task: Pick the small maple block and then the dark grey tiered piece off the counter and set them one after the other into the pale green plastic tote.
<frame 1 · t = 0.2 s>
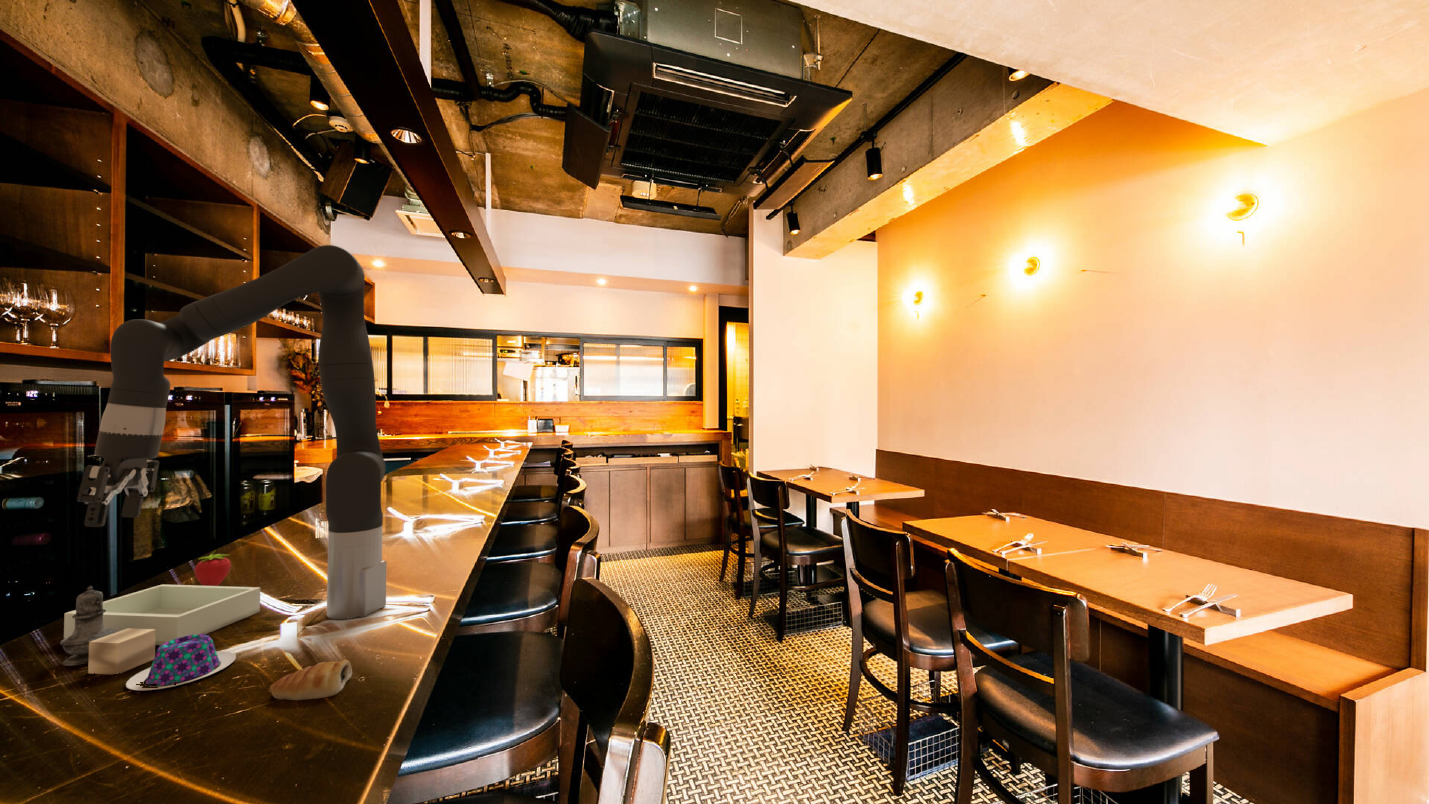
hand: (113, 521, 89), 22 cm above the bar counter, tool pointing down, fingers open, 8 cm apart
tote: (168, 625, 97), on the bar counter
pastry: (315, 692, 75), on the bar counter
patterned hat: (183, 675, 80), on the bar counter
strawberry: (212, 592, 115), on the bar counter
dark grey tiered piece: (88, 658, 84), on the bar counter
maple block: (122, 666, 81), on the bar counter
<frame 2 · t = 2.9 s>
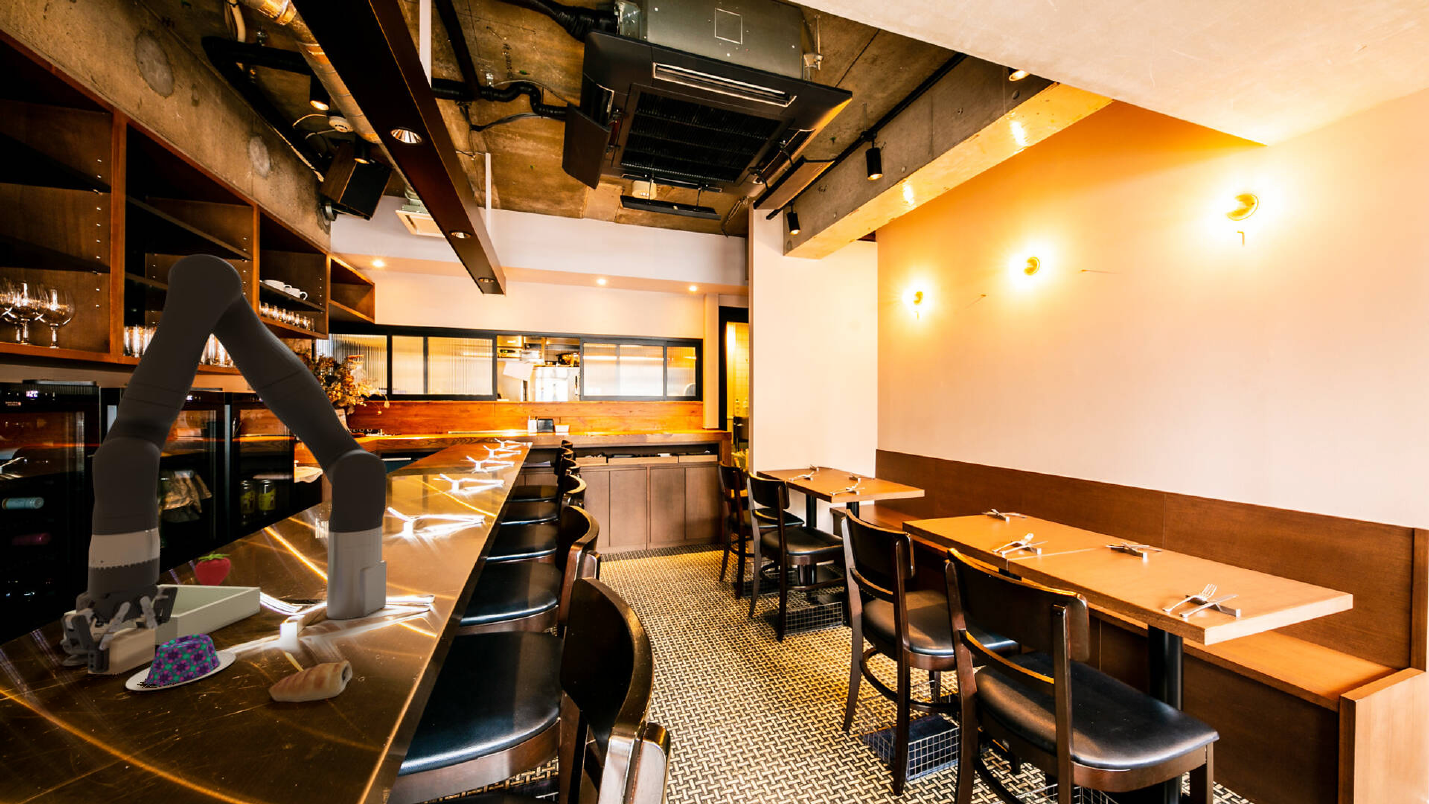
hand: (122, 662, 81), 0 cm above the bar counter, tool pointing down, fingers closed on maple block, 5 cm apart
maple block: (122, 666, 81), on the bar counter, touching gripper
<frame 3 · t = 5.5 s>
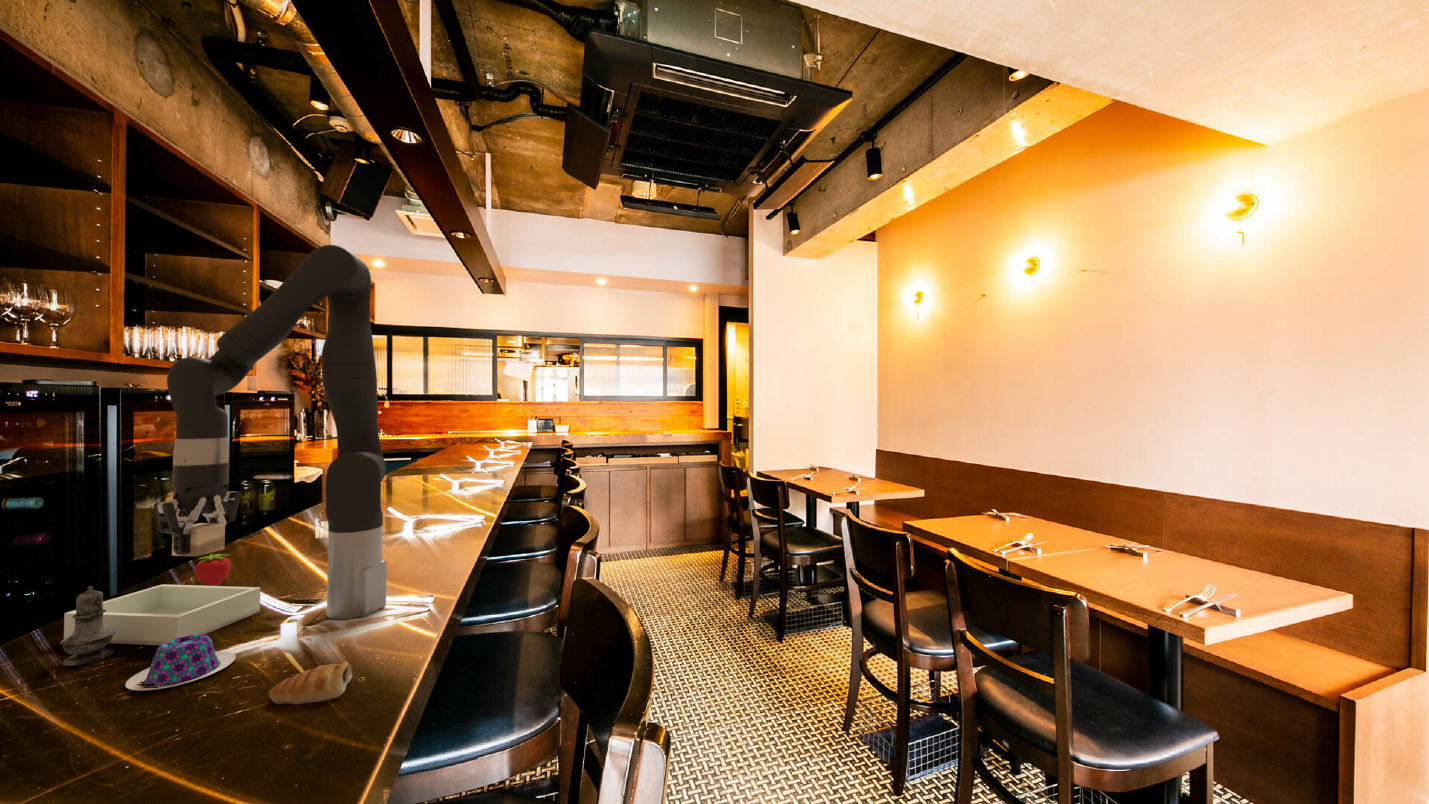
hand: (199, 549, 96), 15 cm above the bar counter, tool pointing down, fingers closed on maple block, 5 cm apart
maple block: (198, 552, 96), point 14 cm above the bar counter, touching gripper
when the fingers open (3 cm above the bar counter, at t = 8.0 s): maple block drops 2 cm, resting on tote.
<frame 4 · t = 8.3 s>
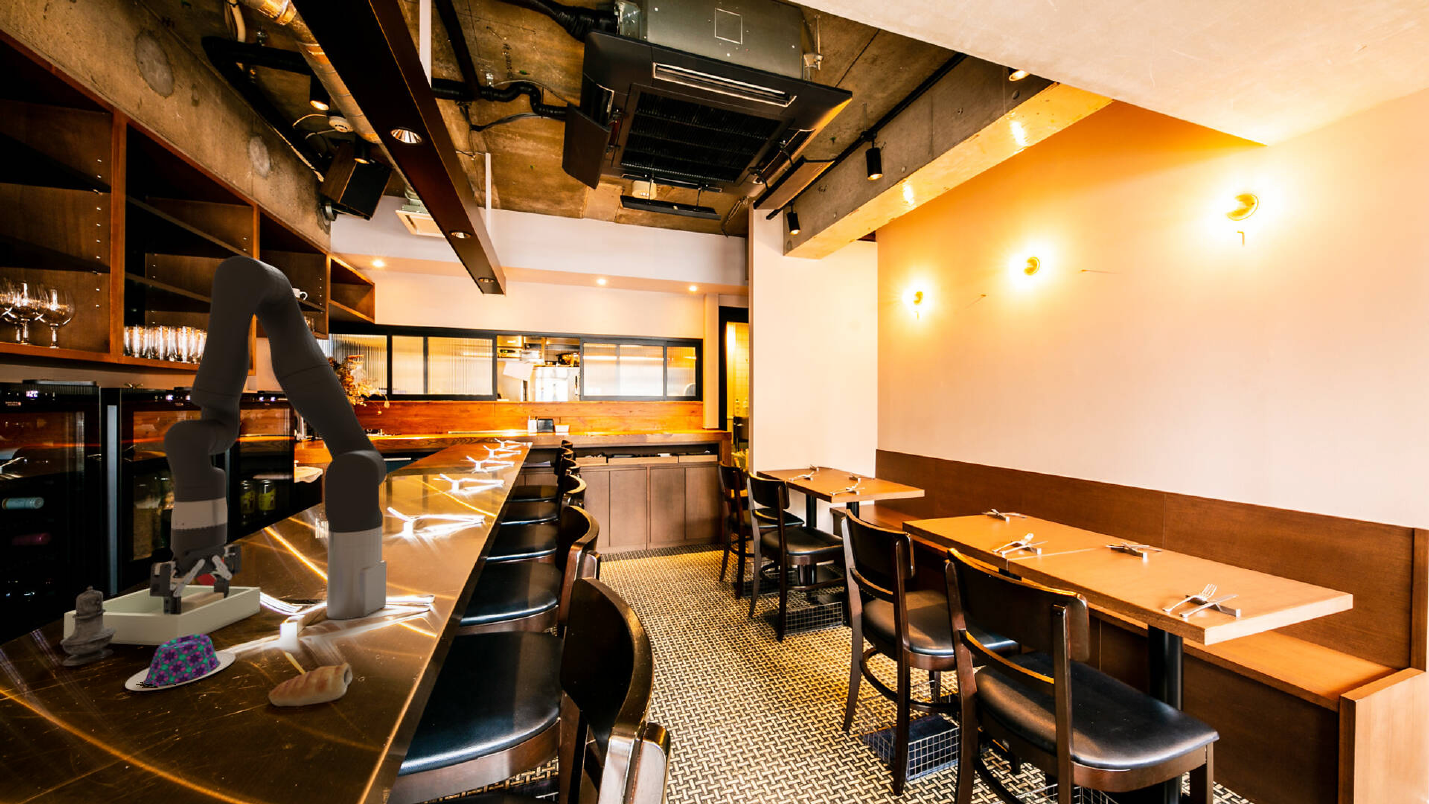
hand: (197, 607, 96), 4 cm above the bar counter, tool pointing down, fingers open, 8 cm apart
maple block: (197, 623, 96), point 1 cm above the bar counter, touching tote
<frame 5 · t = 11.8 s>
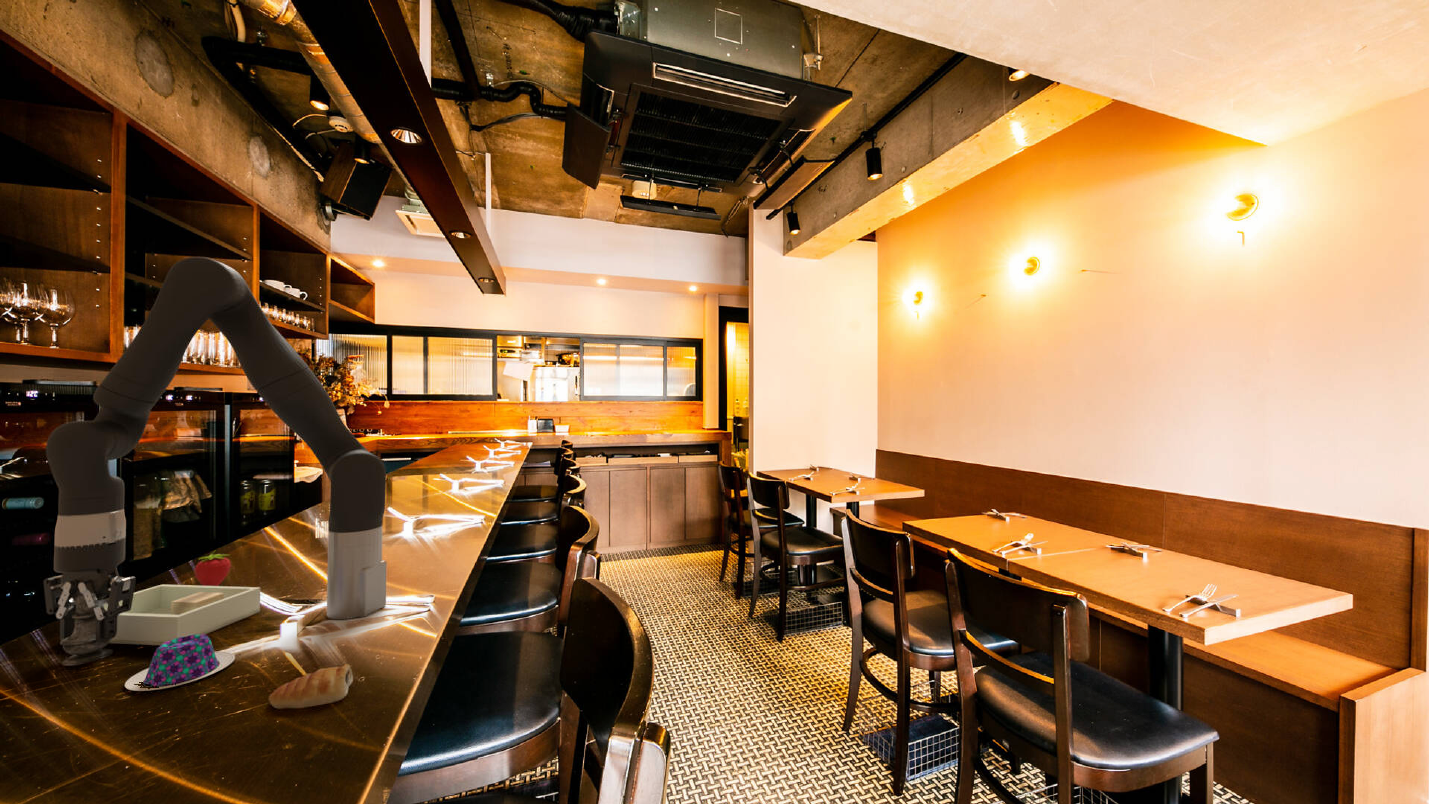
hand: (88, 639, 84), 3 cm above the bar counter, tool pointing down, fingers closed on dark grey tiered piece, 6 cm apart
dark grey tiered piece: (87, 658, 84), on the bar counter, touching gripper
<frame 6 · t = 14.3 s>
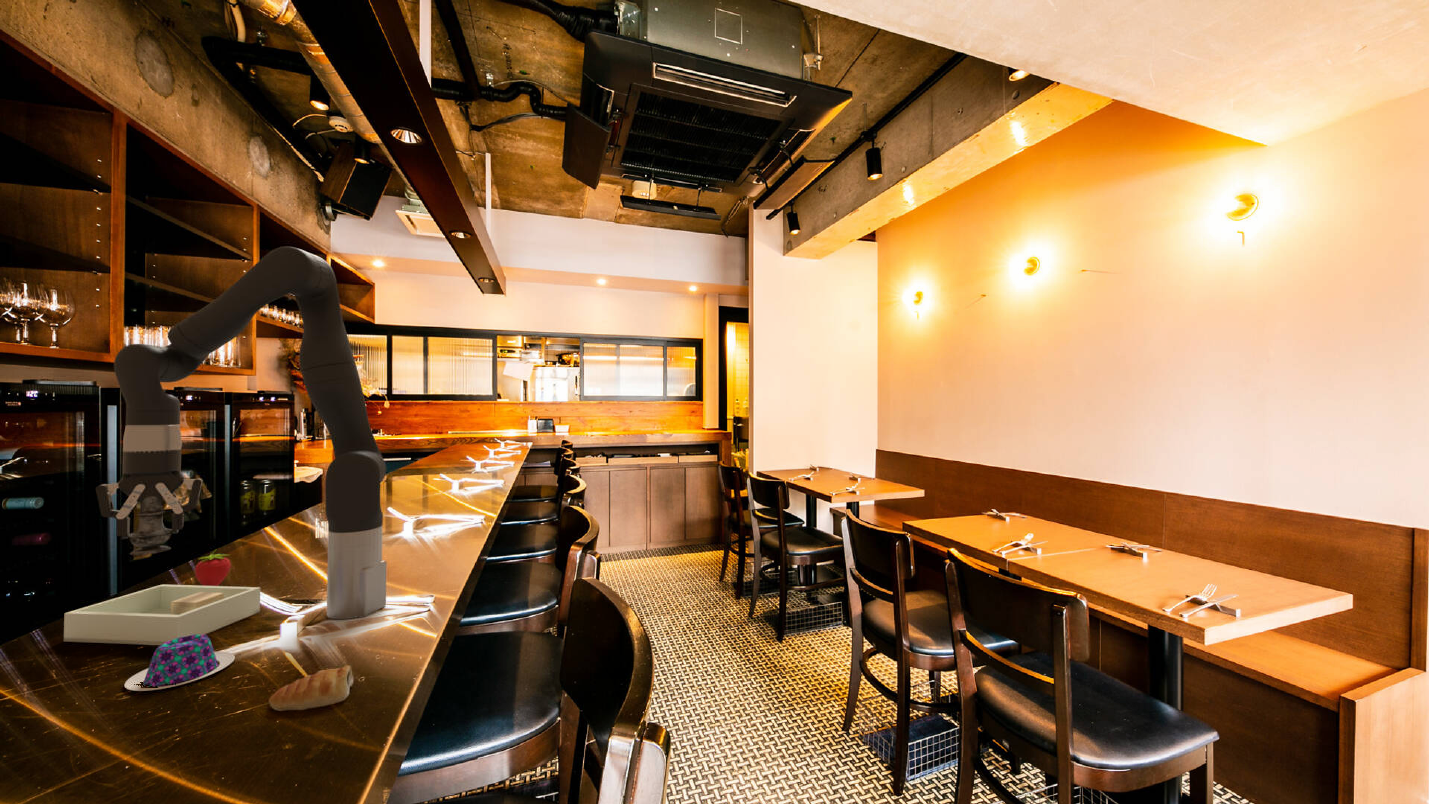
hand: (151, 534, 97), 17 cm above the bar counter, tool pointing down, fingers closed on dark grey tiered piece, 6 cm apart
dark grey tiered piece: (150, 552, 97), point 14 cm above the bar counter, touching gripper
when the fingers open (5 cm above the bar counter, at t = 17.1 s): dark grey tiered piece drops 1 cm, resting on tote.
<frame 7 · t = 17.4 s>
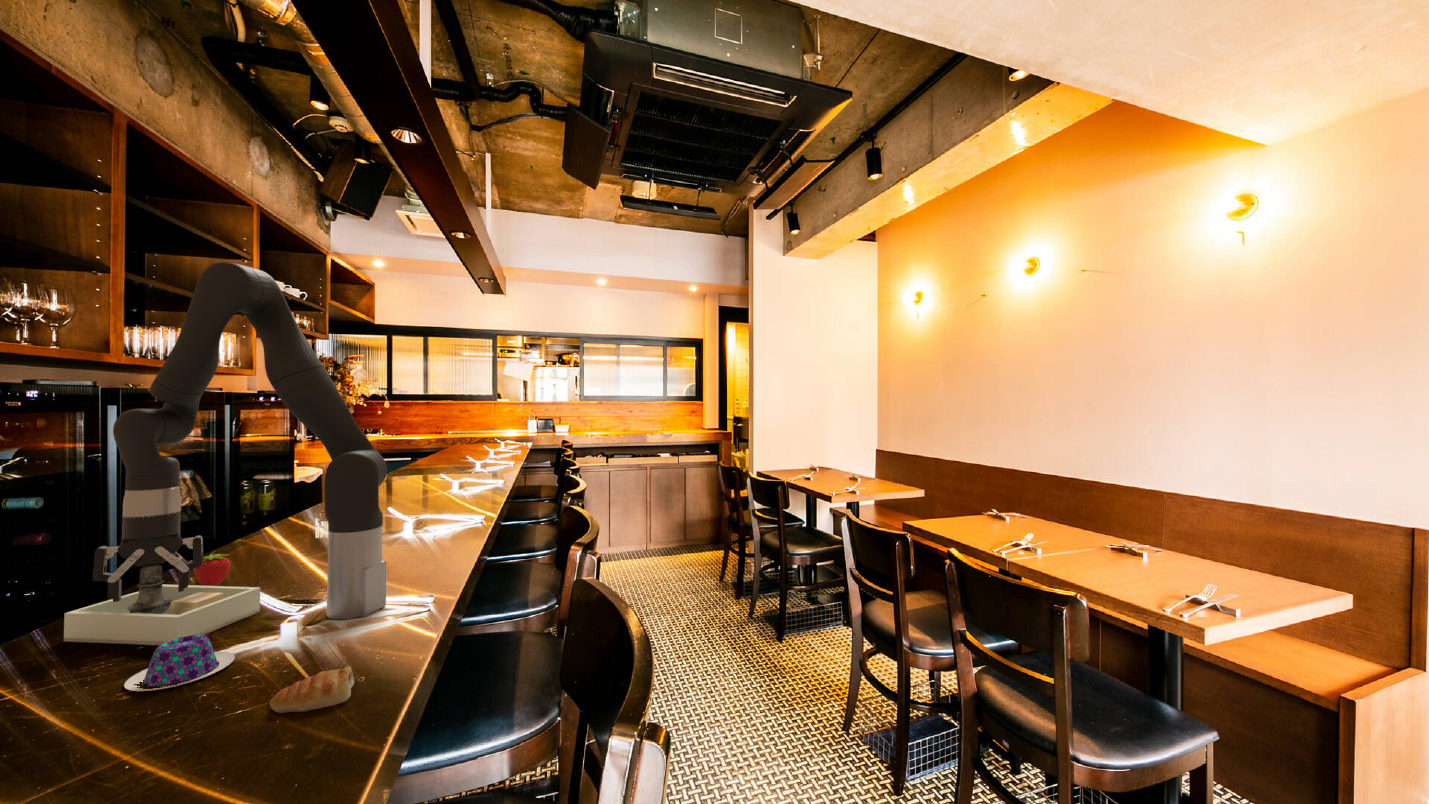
hand: (150, 595, 97), 6 cm above the bar counter, tool pointing down, fingers open, 8 cm apart
dark grey tiered piece: (150, 622, 97), resting on tote
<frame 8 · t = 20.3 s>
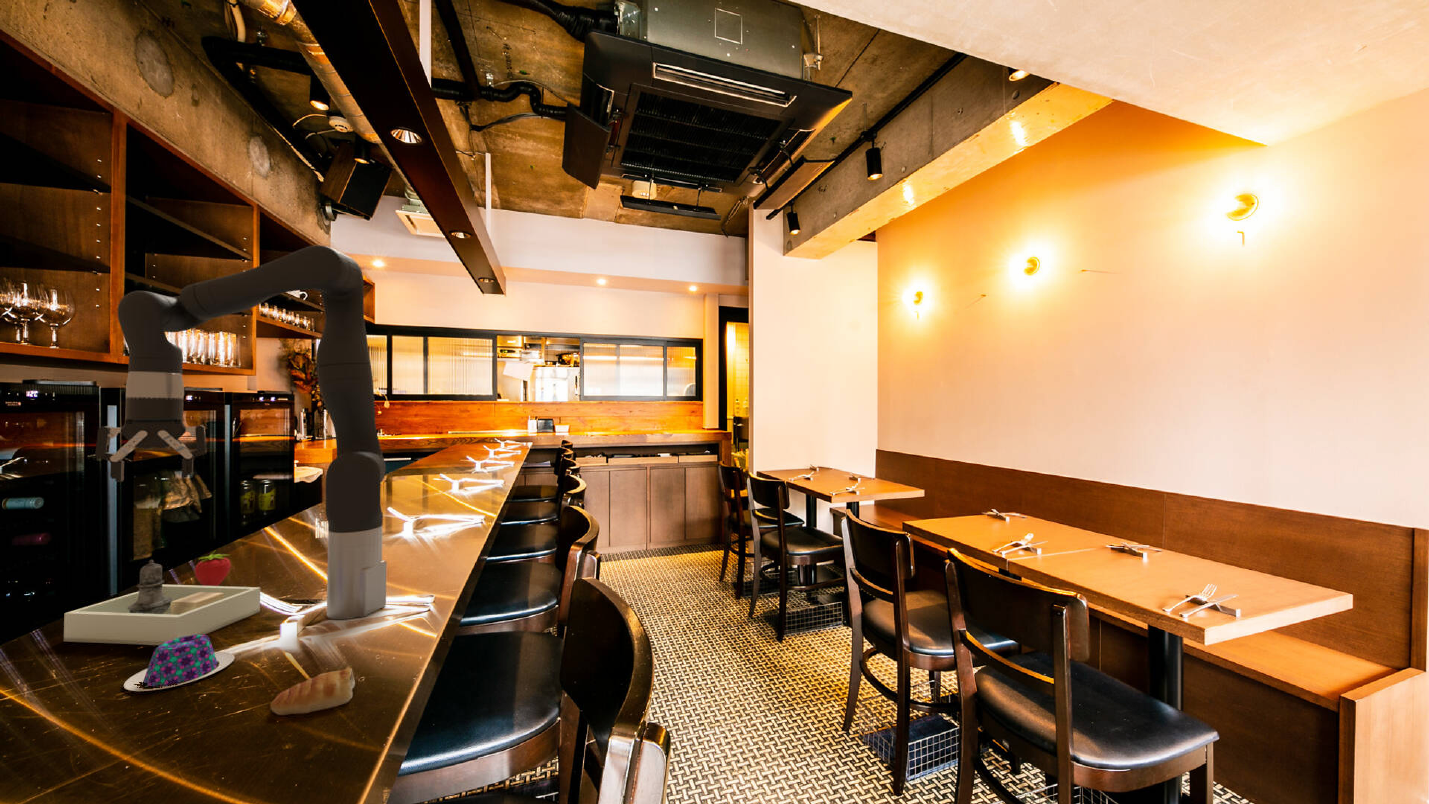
hand: (153, 479, 97), 28 cm above the bar counter, tool pointing down, fingers open, 8 cm apart
at the end: maple block inside the target area on the tote (5.9 cm from its centre), point 0.6 cm above the tote's base; dark grey tiered piece inside the target area on the tote (3.9 cm from its centre), point 0.4 cm above the tote's base; dark grey tiered piece tilted 0° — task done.
